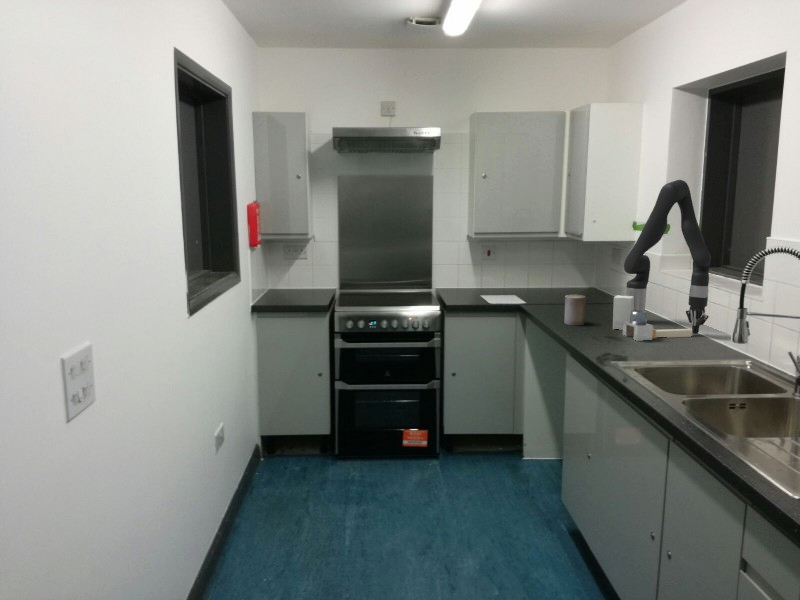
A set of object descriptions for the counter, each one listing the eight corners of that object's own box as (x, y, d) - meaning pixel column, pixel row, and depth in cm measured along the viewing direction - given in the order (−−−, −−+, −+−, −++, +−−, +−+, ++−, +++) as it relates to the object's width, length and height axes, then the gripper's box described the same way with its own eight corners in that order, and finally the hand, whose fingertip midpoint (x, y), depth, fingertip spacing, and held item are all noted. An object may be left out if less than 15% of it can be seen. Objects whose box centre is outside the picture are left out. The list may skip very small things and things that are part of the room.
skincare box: (632, 328, 281) (635, 296, 278) (630, 331, 275) (632, 298, 272) (614, 326, 285) (616, 294, 282) (611, 329, 279) (613, 296, 276)
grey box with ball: (622, 334, 268) (624, 309, 266) (636, 334, 269) (638, 308, 267) (636, 341, 257) (638, 314, 255) (651, 340, 258) (654, 314, 256)
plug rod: (639, 336, 265) (640, 327, 265) (687, 334, 269) (687, 326, 268) (644, 338, 261) (645, 329, 261) (692, 337, 265) (693, 328, 264)
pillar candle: (587, 323, 293) (588, 292, 291) (581, 326, 285) (582, 295, 283) (567, 321, 298) (568, 291, 296) (561, 324, 290) (562, 293, 288)
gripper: (681, 293, 270) (678, 330, 273) (700, 298, 257) (697, 337, 260) (696, 292, 271) (693, 329, 274) (716, 297, 258) (712, 336, 261)
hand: (695, 333), depth 267 cm, fingers closed
